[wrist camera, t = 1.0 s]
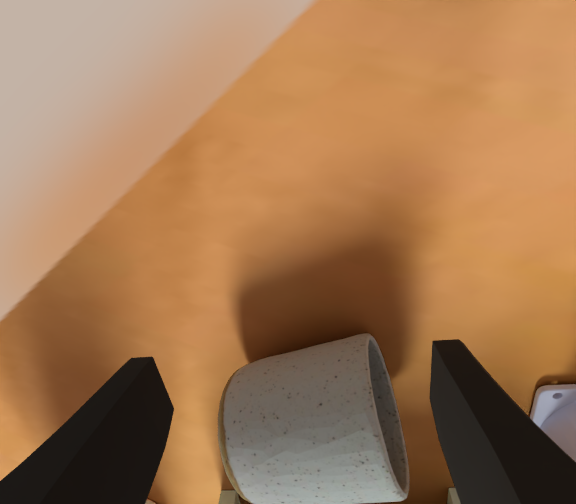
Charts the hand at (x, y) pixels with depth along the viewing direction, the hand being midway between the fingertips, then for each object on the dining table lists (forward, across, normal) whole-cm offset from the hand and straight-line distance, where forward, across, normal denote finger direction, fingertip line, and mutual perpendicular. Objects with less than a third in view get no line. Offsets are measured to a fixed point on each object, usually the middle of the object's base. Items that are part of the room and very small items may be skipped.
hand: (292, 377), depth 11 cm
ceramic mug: (+10, 0, +11) cm, 15 cm away
